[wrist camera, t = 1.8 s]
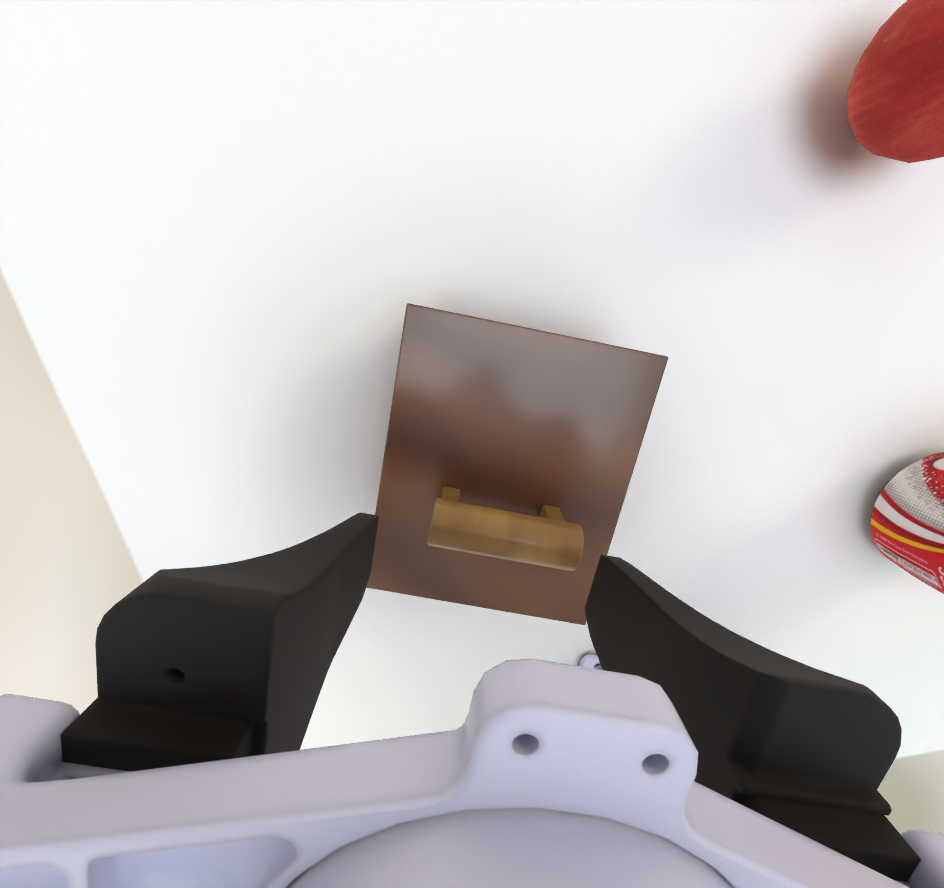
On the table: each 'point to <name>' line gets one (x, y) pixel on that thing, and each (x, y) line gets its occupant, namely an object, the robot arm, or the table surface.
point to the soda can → (914, 520)
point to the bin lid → (506, 462)
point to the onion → (902, 86)
